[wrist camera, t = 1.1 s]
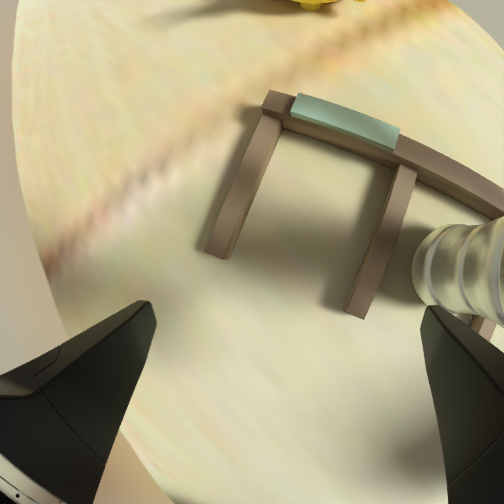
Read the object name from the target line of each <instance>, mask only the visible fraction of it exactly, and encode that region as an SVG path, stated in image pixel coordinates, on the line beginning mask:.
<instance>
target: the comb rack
mask: <svg viewBox="0 0 504 504" xmlns="http://www.w3.org/2000/svg"><path fill="white" fill-rule="evenodd" d="M261 109H262V111H263V115H262V117H261V119H260V121H259V124H258V126H257V128H256V130H255V132H254V135H253V137H252V139H251V141H250V144H249V146H248V148H247V150H246V153H245V155H244V157H243V160H242V162H241V164H240V167H239V169H238V171H237V173H236V176H235V178H234V180H233V183H232V185H231V188H230V190H229V192H228V195H227V197H226V199H225V202H224V204H223V207H222V209H221V211H220V214H219V216H218V219H217V221H216V224H215V226H214V229H213V231H212V234H211V236H210V238H209V241H208V243H207V246H206V249H205V252H207V253H209V254H211V255H214V256H216V257H218V258H220V259H229V258H230V255H231V253H232V250H233V248H234V245H235V243H236V241H237V238H238V236H239V233H240V231H241V228H242V226H243V223H244V221H245V219H246V216H247V214H248V211H249V209H250V206H251V204H252V202H253V199H254V197H255V194H256V192H257V190H258V187H259V185H260V182H261V180H262V178H263V175H264V173H265V171H266V168H267V166H268V163H269V161H270V159H271V156H272V154H273V152H274V149H275V147H276V145H277V142H278V140H279V138H280V135H281V133H282V131H283V128H284V129H288V130H291V131H294V132H297V133H300V134H303V135H306V136H309V137H312V138H315V139H318V140H321V141H323V142H326V143H329V144H332V145H335V146H337V147H340V148H343V149H345V150H348V151H350V152H353V153H356V154H358V155H361V156H363V157H366V158H368V159H371V160H373V161H375V162H378V163H380V164H382V165H385V166H387V167H389V168H392V169H394V170H395V172H394V176H393V179H392V182H391V185H390V188H389V191H388V194H387V197H386V200H385V203H384V206H383V209H382V212H381V215H380V218H379V221H378V223H377V226H376V229H375V232H374V234H373V237H372V240H371V242H370V245H369V248H368V250H367V253H366V255H365V258H364V261H363V263H362V266H361V268H360V271H359V273H358V275H357V278H356V280H355V283H354V285H353V287H352V290H351V292H350V294H349V297H348V299H347V301H346V304H345V306H344V308H343V309H344V310H345V312H346V313H349V314H351V315H353V316H356V317H358V318H361V319H363V320H364V319H365V316H366V314H367V312H368V310H369V307H370V305H371V303H372V300H373V298H374V296H375V293H376V291H377V289H378V286H379V284H380V281H381V279H382V276H383V274H384V271H385V269H386V266H387V264H388V261H389V258H390V256H391V253H392V250H393V248H394V245H395V242H396V239H397V237H398V234H399V231H400V228H401V225H402V222H403V219H404V216H405V213H406V210H407V207H408V204H409V200H410V197H411V194H412V191H413V187H414V184H415V180H418V181H420V182H422V183H424V184H426V185H428V186H430V187H432V188H434V189H436V190H438V191H440V192H442V193H444V194H446V195H448V196H450V197H452V198H454V199H456V200H458V201H460V202H461V203H463V204H465V205H467V206H469V207H470V208H472V209H474V210H476V211H478V212H479V213H481V214H483V215H485V216H486V217H488V218H490V219H491V220H496V219H498V218H501V217H503V216H504V189H503V188H501V187H499V186H498V185H496V184H495V183H493V182H491V181H490V180H488V179H486V178H485V177H483V176H481V175H480V174H478V173H476V172H475V171H473V170H471V169H469V168H468V167H466V166H464V165H462V164H460V163H458V162H457V161H455V160H453V159H451V158H449V157H447V156H445V155H443V154H441V153H439V152H437V151H435V150H433V149H431V148H429V147H427V146H425V145H423V144H421V143H419V142H417V141H415V140H412V139H410V138H408V137H406V136H403V135H401V134H399V132H400V129H399V128H397V127H395V126H392V125H390V124H388V123H385V122H383V121H380V120H378V119H375V118H373V117H370V116H368V115H365V114H362V113H360V112H357V111H354V110H351V109H349V108H346V107H343V106H340V105H337V104H334V103H331V102H328V101H325V100H322V99H318V98H315V97H312V96H309V95H305V94H302V93H298V95H297V97H295V96H292V95H288V94H284V93H281V92H277V91H273V90H269V92H268V94H267V96H266V98H265V100H264V102H263V104H262V106H261ZM496 324H497V323H495V322H493V321H491V320H488V319H486V318H484V317H481V316H479V315H476V314H474V317H473V319H472V322H471V324H470V328H472V329H473V330H474V331H476V332H477V333H478V334H480V335H481V336H482V337H484V338H485V339H486V340H487V341H490V339H491V337H492V334H493V332H494V329H495V327H496Z"/></svg>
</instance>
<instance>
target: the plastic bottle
mask: <svg viewBox="0 0 504 504" xmlns="http://www.w3.org/2000/svg"><path fill="white" fill-rule="evenodd" d="M412 281H413V285H414V288H415V290H416V292H417V294H418V296H419V297H420V298H421V299H422V300H423V302H424V303H425V304H426V305H427V306H428V305H440V306H441V307H443V308H444V309H446V310H447V311H448V312H450V313H451V314H461V313H468V314H476V315H479V316H481V317H484V318H486V319H488V320H491V321H493V322H495V323H497V324H498V325H500V326H501V327H503V328H504V216H503V217H501V218H498V219H496V220H493V221H491V222H489V223H485V224H483V225H471V226H468V225H463V224H449V225H445V226H441V227H439V228H437V229H435V230H434V231H433V232H432V233H430V234H429V235H428V236H427V237H426V238H425V239H424V240H423V241H422V242H421V244H420V245H419V247H418V248H417V250H416V253H415V255H414V258H413V263H412Z"/></svg>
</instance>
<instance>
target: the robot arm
mask: <svg viewBox="0 0 504 504" xmlns="http://www.w3.org/2000/svg"><path fill="white" fill-rule="evenodd" d="M156 325H157V321H156V317H155V314H154V311H153V308H152V304H151V303H150V302H149V301H143V300H139V301H136V302H135V303H133V304H131V305H129V306H128V307H126V308H124V309H122V310H120V311H119V312H117V313H115V314H113V315H112V316H110V317H108V318H106V319H105V320H103V321H101V322H99V323H98V324H96V325H94V326H92V327H90V328H89V329H87V330H85V331H83V332H82V333H80V334H78V335H76V336H75V337H73V338H71V339H69V340H68V341H66V342H64V343H63V344H61V346H60V345H59V346H57V347H55V348H54V349H52V350H50V351H48V352H47V353H45V354H43V355H41V356H39V357H37V358H35V359H33V360H31V361H29V362H27V363H25V364H23V365H21V366H19V367H17V368H15V369H13V370H11V371H9V372H7V373H4V374H2V375H0V504H61V503H64V504H93V501H94V498H95V495H96V492H97V489H98V486H99V483H100V480H101V477H102V474H103V471H104V469H105V465H106V463H107V460H108V457H109V455H110V452H111V449H112V446H113V443H114V441H115V438H116V436H117V433H118V430H119V428H120V425H121V422H122V420H123V417H124V415H125V412H126V410H127V407H128V405H129V402H130V399H131V397H132V394H133V392H134V390H135V387H136V385H137V382H138V380H139V377H140V375H141V372H142V370H143V368H144V365H145V362H146V359H147V356H148V353H149V349H150V346H151V343H152V339H153V336H154V333H155V329H156ZM420 333H421V339H422V345H423V351H424V358H425V365H426V371H427V376H428V380H429V384H430V388H431V393H432V397H433V402H434V406H435V411H436V416H437V421H438V427H439V432H440V438H441V444H442V450H443V457H444V464H445V472H446V481H447V493H448V504H504V353H503V352H502V351H500V350H499V349H498V348H497V347H495V346H494V345H493V344H491V343H490V342H489V341H487V340H486V339H485V338H484V337H482V336H481V335H480V334H478V333H477V332H476V331H474V330H473V329H472V328H470V327H469V326H467V325H466V324H465V323H463V322H462V321H461V320H459V319H458V318H457V317H455V316H454V315H452V314H451V313H450V312H448V311H447V310H446V309H444V308H443V307H441V306H440V305H428V306H427V307H426V309H425V313H424V316H423V320H422V323H421V327H420Z"/></svg>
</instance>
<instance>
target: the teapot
mask: <svg viewBox="0 0 504 504" xmlns="http://www.w3.org/2000/svg"><path fill="white" fill-rule="evenodd" d="M291 1H295V2H300V7H301V8H302V9H304V10H307V11H314V10H317V9H319V8H320V7H321V3H329V2H335V1H339V0H291ZM354 1H357V2H364V1H366V0H354Z"/></svg>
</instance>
